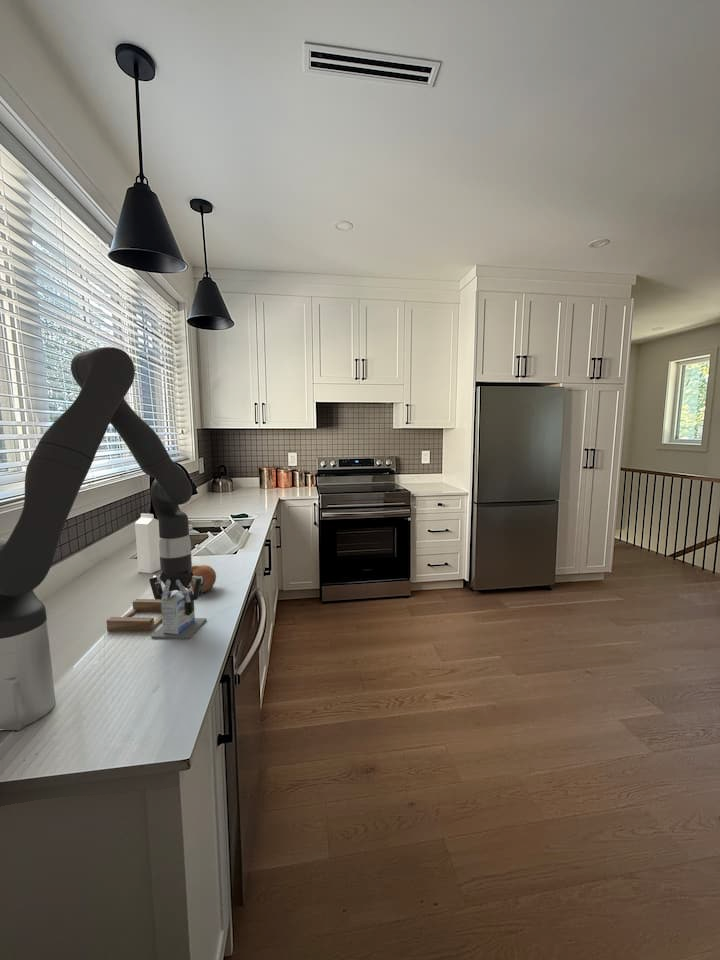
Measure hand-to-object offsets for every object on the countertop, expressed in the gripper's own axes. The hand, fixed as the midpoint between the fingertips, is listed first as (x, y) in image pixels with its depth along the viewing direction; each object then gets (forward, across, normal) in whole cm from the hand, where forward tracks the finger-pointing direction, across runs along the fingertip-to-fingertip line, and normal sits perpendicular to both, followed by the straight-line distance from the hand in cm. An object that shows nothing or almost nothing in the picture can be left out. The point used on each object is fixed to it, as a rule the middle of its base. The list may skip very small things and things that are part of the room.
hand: (179, 613), depth 105 cm
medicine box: (+4, 0, 0) cm, 4 cm away
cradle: (+4, -13, +5) cm, 15 cm away
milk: (+5, -33, +44) cm, 55 cm away
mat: (+4, 0, 0) cm, 4 cm away
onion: (+5, -5, +25) cm, 26 cm away
